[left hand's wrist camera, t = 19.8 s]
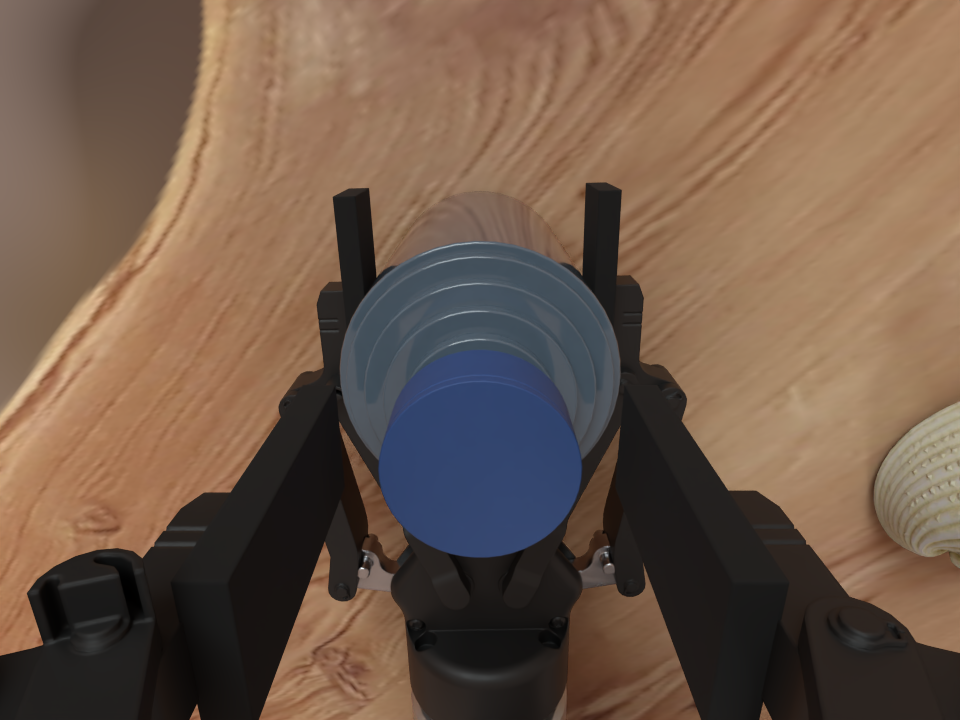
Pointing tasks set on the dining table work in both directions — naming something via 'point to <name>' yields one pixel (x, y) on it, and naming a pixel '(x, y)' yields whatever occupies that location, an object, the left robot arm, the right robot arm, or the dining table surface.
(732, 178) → the dining table surface
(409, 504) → the cap
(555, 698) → the right robot arm
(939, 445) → the seashell
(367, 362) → the bottle
